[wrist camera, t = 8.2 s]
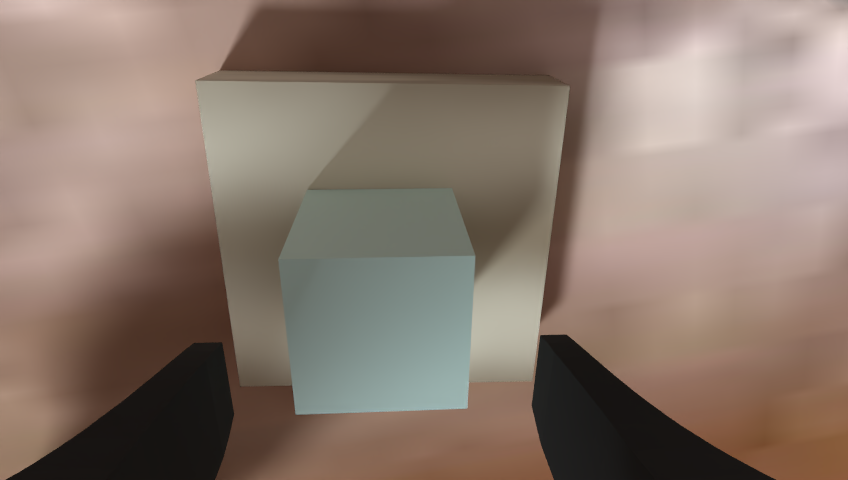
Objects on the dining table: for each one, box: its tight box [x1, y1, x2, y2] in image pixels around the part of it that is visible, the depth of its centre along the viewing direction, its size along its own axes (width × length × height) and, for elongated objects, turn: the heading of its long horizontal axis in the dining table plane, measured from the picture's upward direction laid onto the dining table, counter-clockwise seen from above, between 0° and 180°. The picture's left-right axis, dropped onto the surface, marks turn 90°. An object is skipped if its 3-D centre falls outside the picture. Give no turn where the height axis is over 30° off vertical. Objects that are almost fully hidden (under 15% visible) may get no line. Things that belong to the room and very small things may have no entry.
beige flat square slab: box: [195, 70, 570, 387], centre depth 20 cm, size 11×11×3 cm
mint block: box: [278, 188, 475, 415], centre depth 16 cm, size 5×5×5 cm
